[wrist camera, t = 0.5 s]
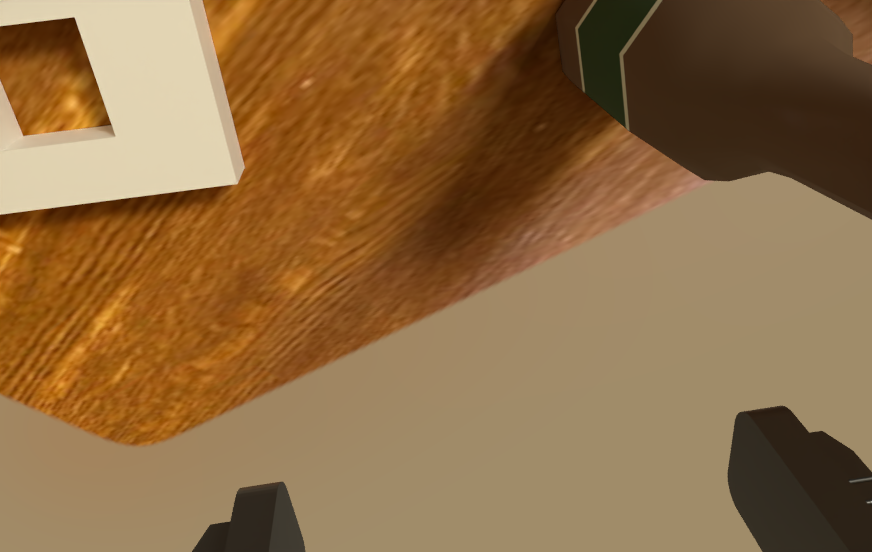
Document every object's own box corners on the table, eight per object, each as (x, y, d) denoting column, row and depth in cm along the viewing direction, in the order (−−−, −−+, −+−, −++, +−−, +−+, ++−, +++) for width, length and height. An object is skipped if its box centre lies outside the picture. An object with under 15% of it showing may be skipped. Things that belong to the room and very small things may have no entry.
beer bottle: (533, 89, 37) (761, 337, 16) (571, -70, 33) (930, -23, 12) (666, 109, 38) (1041, 364, 17) (716, -42, 34) (1269, 45, 13)
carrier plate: (-248, -195, 28) (-323, -208, 25) (142, -238, 28) (115, -254, 25) (-51, 205, 37) (-88, 232, 34) (244, 167, 37) (234, 191, 34)
